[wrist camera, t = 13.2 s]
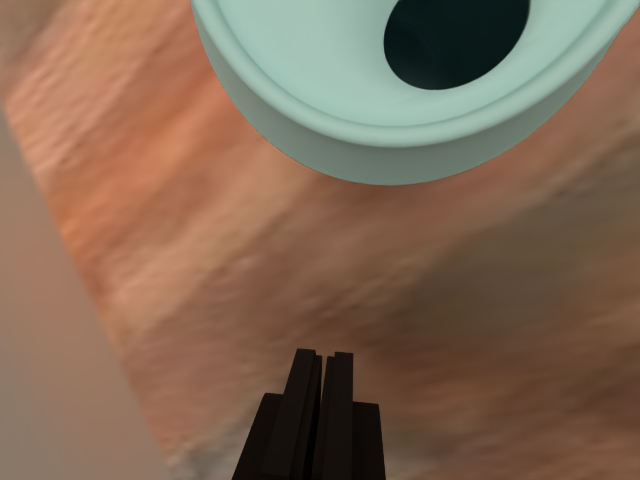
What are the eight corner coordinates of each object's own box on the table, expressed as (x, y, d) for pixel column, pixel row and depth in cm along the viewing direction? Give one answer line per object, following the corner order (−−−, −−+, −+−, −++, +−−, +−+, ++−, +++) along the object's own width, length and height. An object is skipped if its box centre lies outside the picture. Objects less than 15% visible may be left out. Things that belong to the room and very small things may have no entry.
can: (494, 48, 14) (1083, -450, 2) (403, 192, 16) (493, 291, 4) (350, -34, 14) (266, -926, 2) (277, 121, 16) (43, 34, 4)
